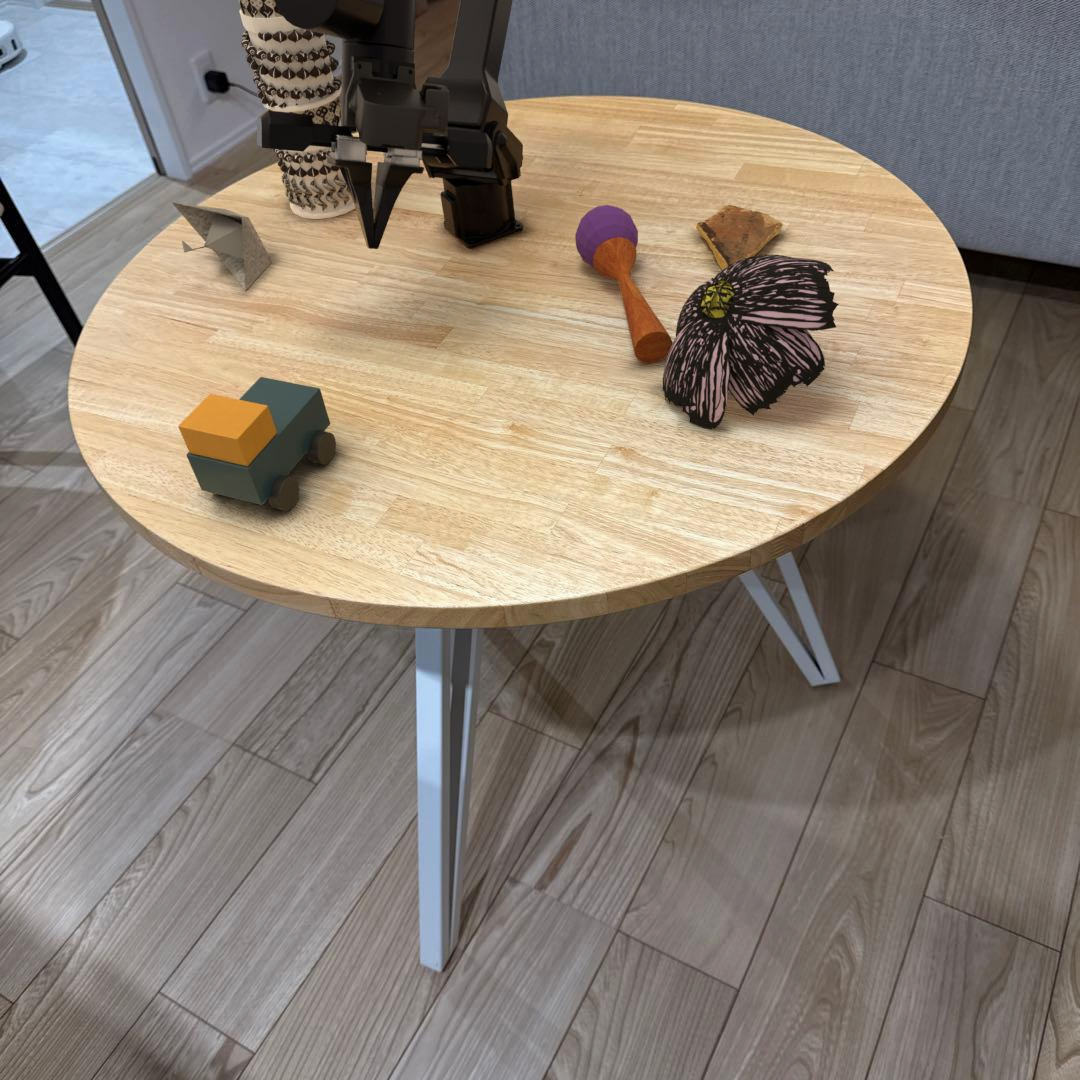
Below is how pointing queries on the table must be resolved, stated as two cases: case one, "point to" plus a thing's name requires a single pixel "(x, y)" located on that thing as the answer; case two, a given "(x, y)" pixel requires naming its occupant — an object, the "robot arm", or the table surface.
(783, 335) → the decorative flower
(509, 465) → the table surface
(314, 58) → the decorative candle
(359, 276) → the table surface
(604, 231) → the purple and orange maraca
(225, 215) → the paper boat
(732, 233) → the shard
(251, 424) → the toy truck
